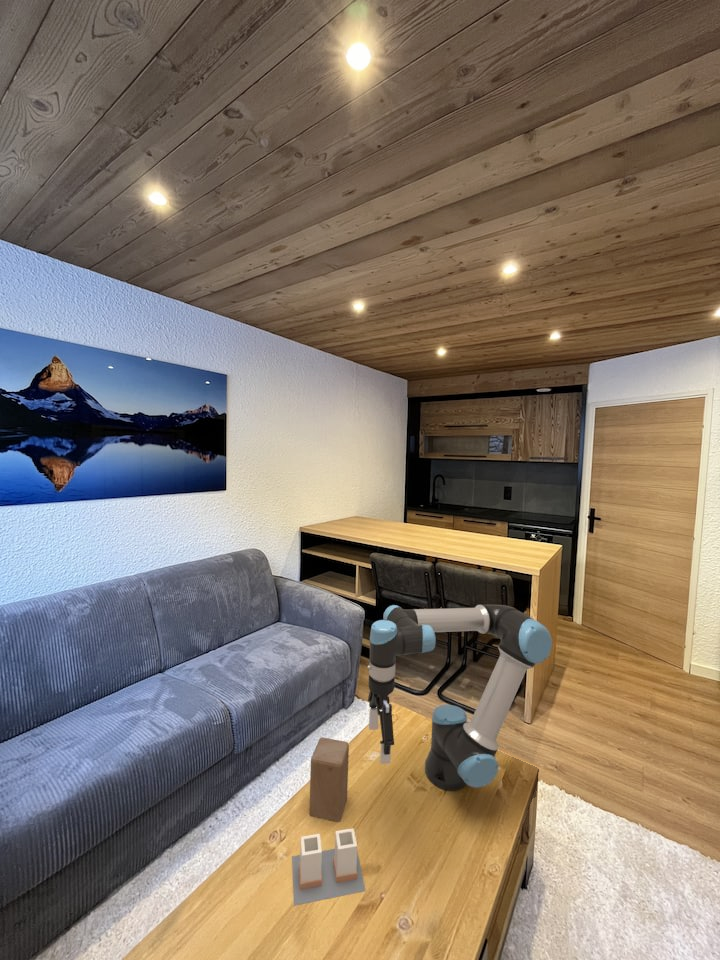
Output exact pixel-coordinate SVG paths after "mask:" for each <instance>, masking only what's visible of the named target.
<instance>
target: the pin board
mask: <svg viewBox="0 0 720 960" xmlns="http://www.w3.org/2000/svg"><path fill="white" fill-rule="evenodd" d="M334 856H335V848H330V849H325V850H322V864H321V874H322V886H317V887H312V888H307V889H302V890H300V875H299V862H300V854H297V855H293V856H291V862H292V863H291V867H292V869H291V871H292V889H293V890H292V893H293V894H292V895H293V906H299V905H305V904H309V903H314V902H319V901H323V900H329V899H334V898H338V897H339V898H340V897H344V896H349V895H353V894H357V893H362V892H366V886H365V885H366V884H365V881H364V876H363V870H362V865H361V862H360V857H359V852H358V850H357V866H356V869H357V879H354V880H349V881H343V882H338V883H336V877H335V869H334V862H333V858H334Z"/></svg>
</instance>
